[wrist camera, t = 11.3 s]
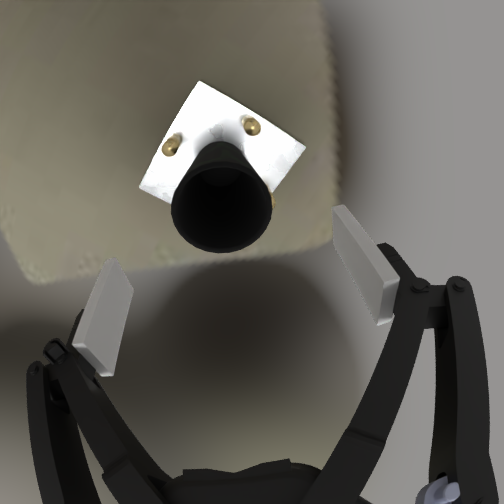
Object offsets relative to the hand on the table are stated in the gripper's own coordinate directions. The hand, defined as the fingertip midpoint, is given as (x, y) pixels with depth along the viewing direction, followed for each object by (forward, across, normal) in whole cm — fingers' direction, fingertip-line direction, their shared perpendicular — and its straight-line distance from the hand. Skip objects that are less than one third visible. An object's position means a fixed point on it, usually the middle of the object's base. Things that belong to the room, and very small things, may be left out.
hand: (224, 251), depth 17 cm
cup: (+18, 0, 0) cm, 18 cm away
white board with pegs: (+19, 0, -1) cm, 19 cm away
